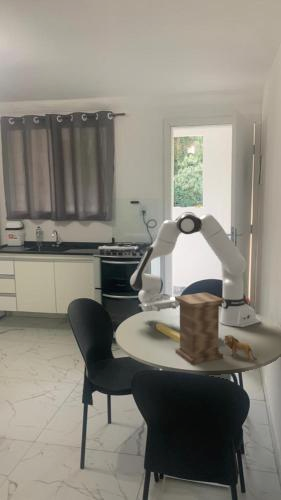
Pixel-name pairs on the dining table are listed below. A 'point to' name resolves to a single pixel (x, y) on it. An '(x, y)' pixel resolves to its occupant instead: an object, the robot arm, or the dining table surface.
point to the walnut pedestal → (199, 327)
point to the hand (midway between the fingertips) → (166, 308)
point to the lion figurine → (238, 346)
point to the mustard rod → (168, 331)
